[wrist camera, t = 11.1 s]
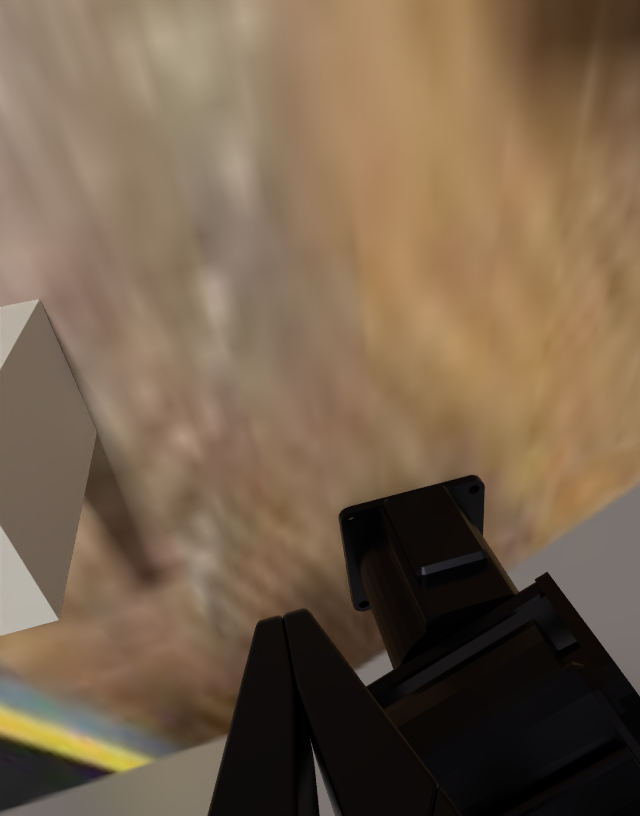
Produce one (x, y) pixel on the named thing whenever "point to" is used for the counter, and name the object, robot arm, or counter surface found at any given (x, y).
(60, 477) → the domino
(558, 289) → the counter surface
